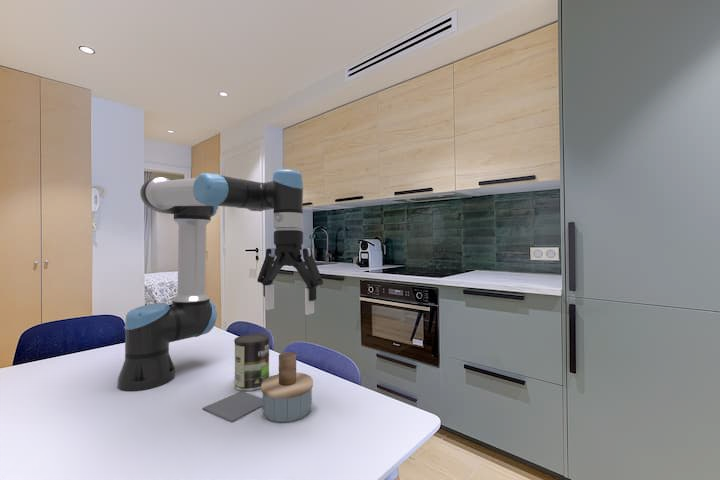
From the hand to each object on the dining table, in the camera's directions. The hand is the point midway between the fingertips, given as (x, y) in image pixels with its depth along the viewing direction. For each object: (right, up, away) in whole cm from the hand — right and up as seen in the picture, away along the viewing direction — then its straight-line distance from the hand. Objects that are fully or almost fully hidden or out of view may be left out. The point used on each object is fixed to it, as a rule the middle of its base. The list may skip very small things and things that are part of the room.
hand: (288, 311), depth 86 cm
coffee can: (-15, -26, +15) cm, 33 cm away
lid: (0, -19, -1) cm, 19 cm away
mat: (-14, -25, +1) cm, 29 cm away
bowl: (0, -25, -1) cm, 25 cm away
